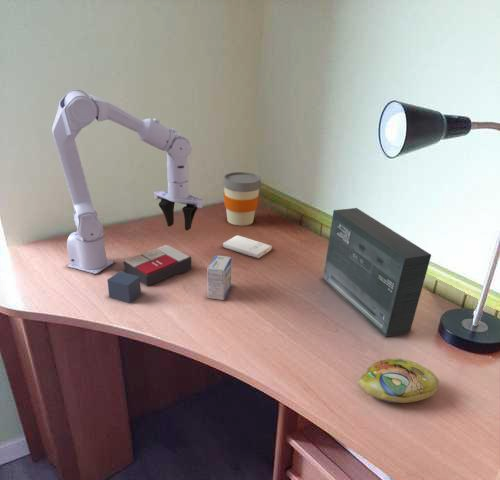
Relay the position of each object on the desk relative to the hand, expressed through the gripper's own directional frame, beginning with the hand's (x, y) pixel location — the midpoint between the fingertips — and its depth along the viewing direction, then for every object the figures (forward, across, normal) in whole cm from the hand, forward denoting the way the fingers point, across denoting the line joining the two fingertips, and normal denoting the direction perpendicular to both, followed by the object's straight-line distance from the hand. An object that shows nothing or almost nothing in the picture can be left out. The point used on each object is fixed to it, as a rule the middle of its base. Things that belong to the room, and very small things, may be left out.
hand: (179, 227), depth 140 cm
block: (+8, 0, +28) cm, 29 cm away
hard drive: (+9, -16, -13) cm, 22 cm away
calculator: (+9, 0, +12) cm, 15 cm away
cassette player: (+9, -55, +3) cm, 56 cm away
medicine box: (+9, -20, +15) cm, 26 cm away
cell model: (+9, -68, +34) cm, 77 cm away
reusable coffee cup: (+9, -5, -33) cm, 34 cm away
